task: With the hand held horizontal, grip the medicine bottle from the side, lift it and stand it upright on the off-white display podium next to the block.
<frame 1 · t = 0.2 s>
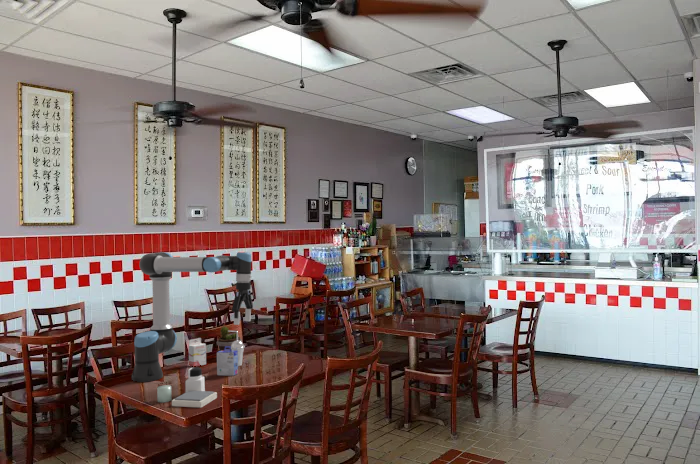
hand: (242, 322, 284), 27 cm above the table, tool pointing down, fingers open, 13 cm apart
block: (164, 400, 244), on the table
ink cartridge box 2: (197, 365, 309), on the table
medicine bottle: (195, 394, 252), on the table
flowerpot: (229, 357, 326), on the table
ink cartridge box: (227, 374, 286), on the table
cup with straw: (237, 365, 307), on the table
podium: (194, 401, 240), on the table
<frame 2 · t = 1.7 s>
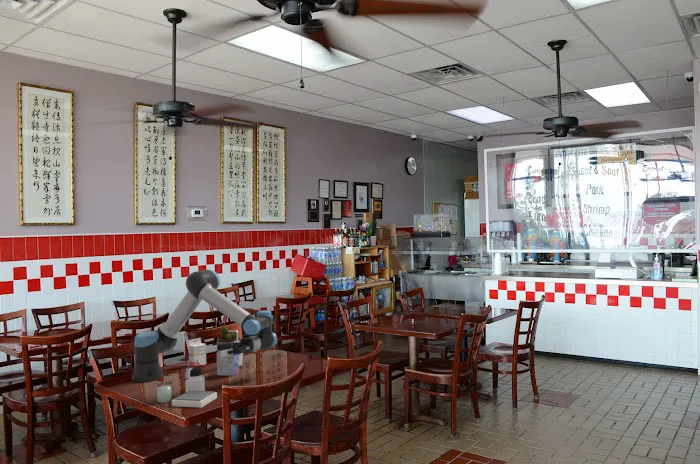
hand: (212, 352, 259), 18 cm above the table, tool horizontal, fingers open, 13 cm apart
nothing on the table moved.
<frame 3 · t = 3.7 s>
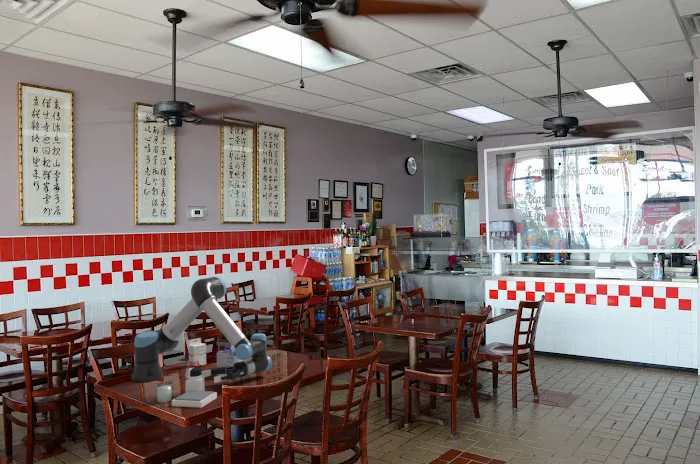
hand: (206, 377, 256), 6 cm above the table, tool horizontal, fingers open, 13 cm apart
nothing on the table moved.
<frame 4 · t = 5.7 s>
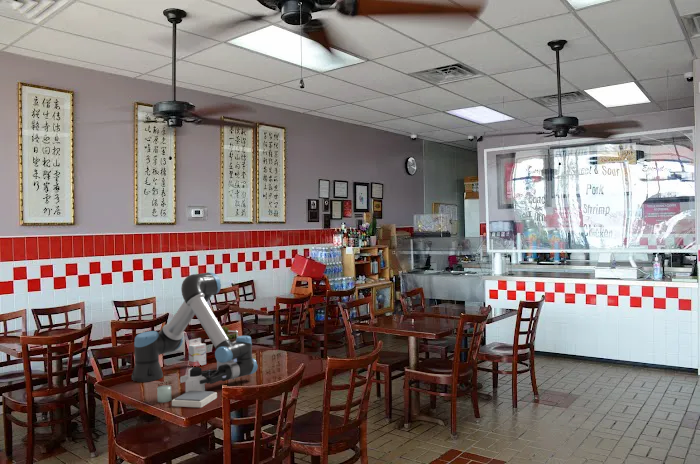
hand: (186, 381, 249), 7 cm above the table, tool horizontal, fingers closed on medicine bottle, 10 cm apart
medicine bottle: (195, 394, 252), on the table, touching gripper
everything else where it was.
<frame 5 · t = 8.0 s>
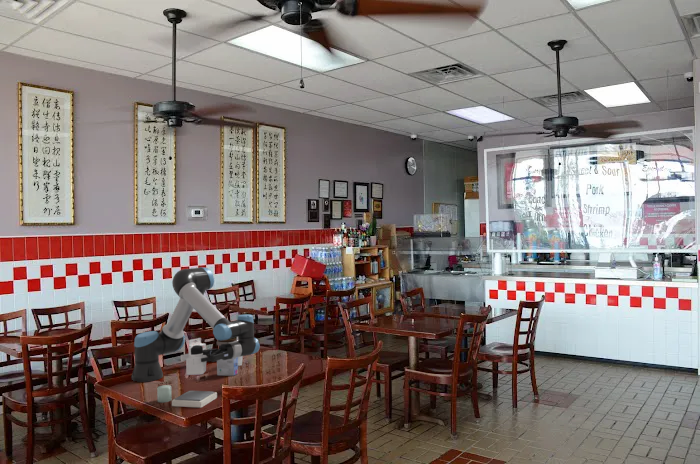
hand: (187, 359, 241), 18 cm above the table, tool horizontal, fingers closed on medicine bottle, 10 cm apart
medicine bottle: (196, 373, 244), point 12 cm above the table, touching gripper
everything else where it was.
when the fingers open (11 cm above the table, at t = 10.4 s): medicine bottle drops 1 cm, resting on podium.
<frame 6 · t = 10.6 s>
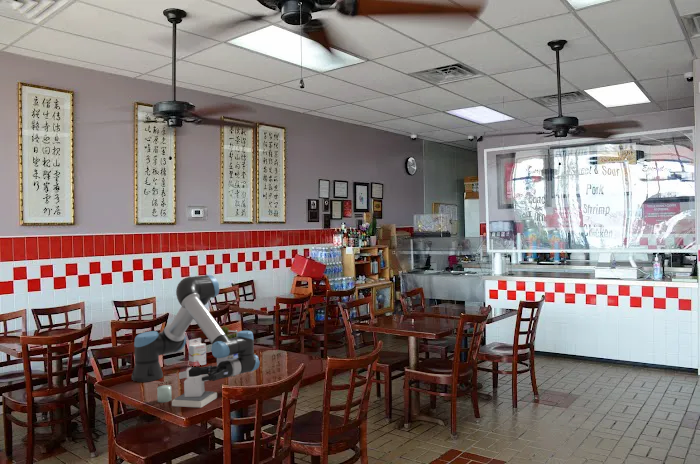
hand: (186, 378, 237), 11 cm above the table, tool horizontal, fingers open, 12 cm apart
medicine bottle: (194, 395, 240), point 3 cm above the table, touching podium
everything else where it was.
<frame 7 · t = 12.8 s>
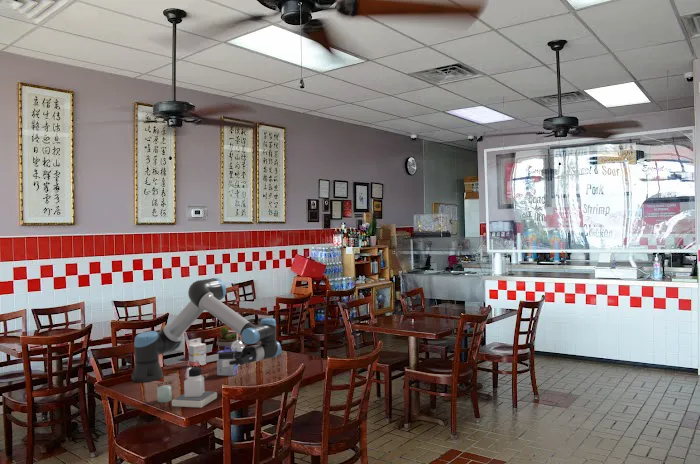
hand: (213, 361, 247), 16 cm above the table, tool horizontal, fingers open, 13 cm apart
nothing on the table moved.
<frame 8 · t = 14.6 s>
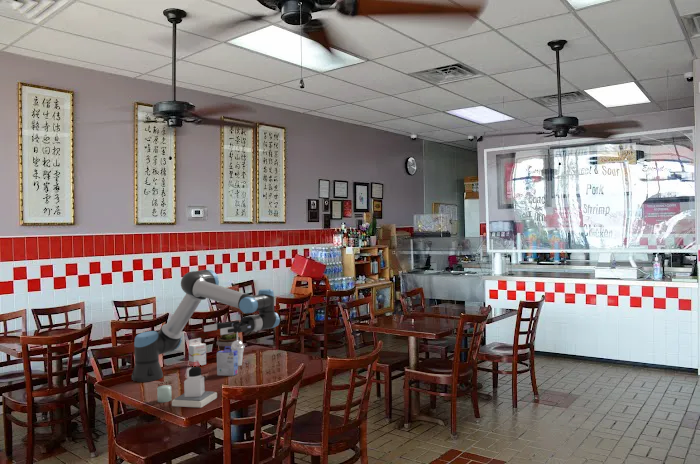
hand: (212, 330, 247), 30 cm above the table, tool horizontal, fingers open, 13 cm apart
nothing on the table moved.
at the end: medicine bottle inside the target area on the podium (0.1 cm from its centre), point 2.8 cm above the podium's base; medicine bottle tilted 0°; the gripper is holding nothing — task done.
